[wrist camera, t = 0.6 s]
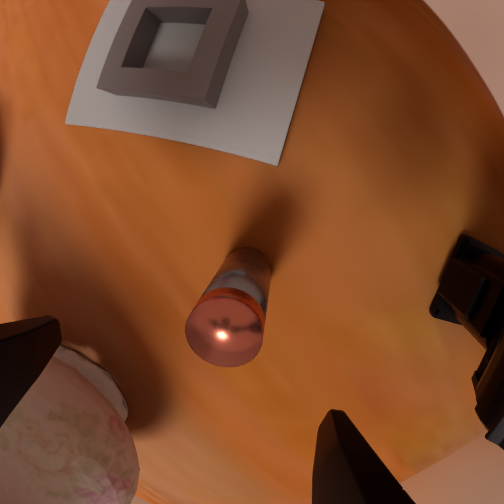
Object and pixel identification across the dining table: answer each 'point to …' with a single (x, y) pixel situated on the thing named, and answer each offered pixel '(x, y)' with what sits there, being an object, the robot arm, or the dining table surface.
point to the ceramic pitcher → (69, 439)
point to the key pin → (232, 311)
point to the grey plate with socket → (198, 71)
